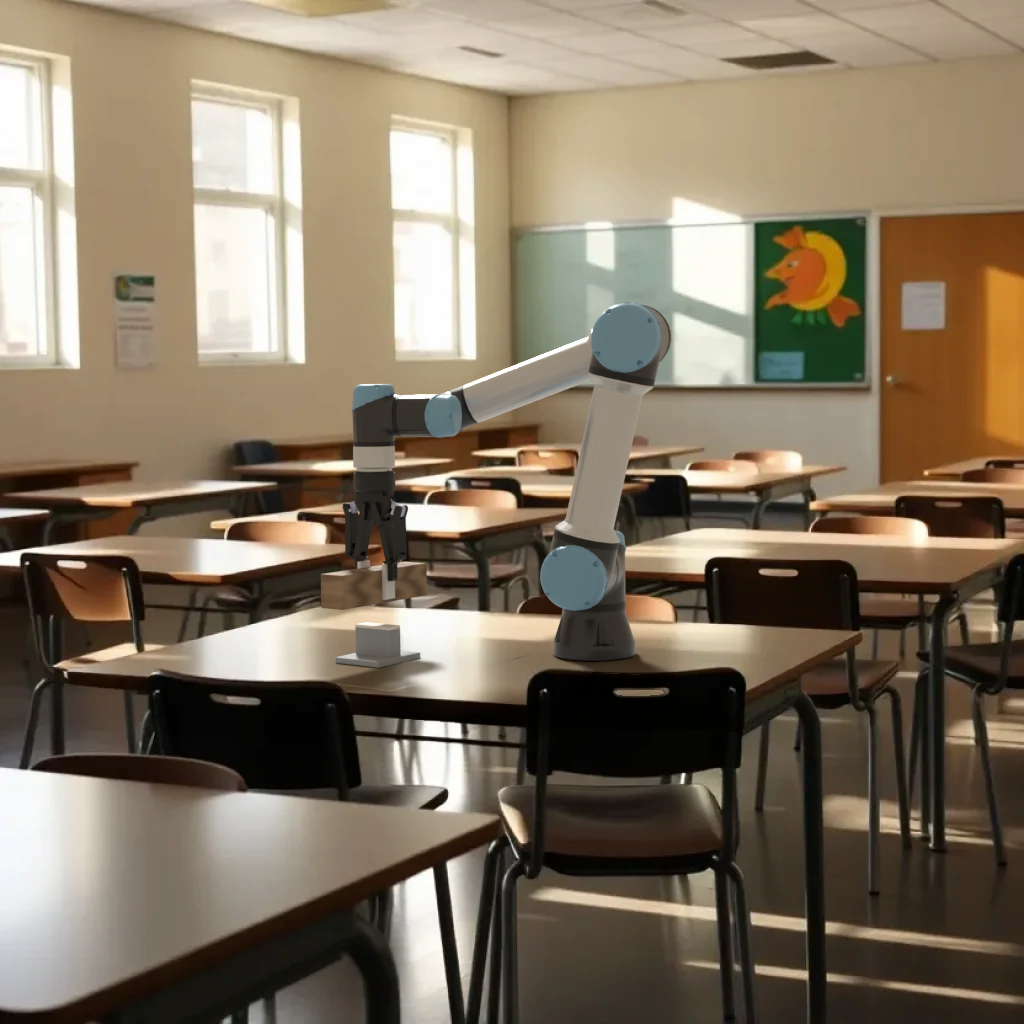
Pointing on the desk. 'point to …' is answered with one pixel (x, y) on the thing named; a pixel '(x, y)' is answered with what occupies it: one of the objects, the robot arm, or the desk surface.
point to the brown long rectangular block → (371, 586)
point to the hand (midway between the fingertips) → (376, 597)
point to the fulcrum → (377, 646)
